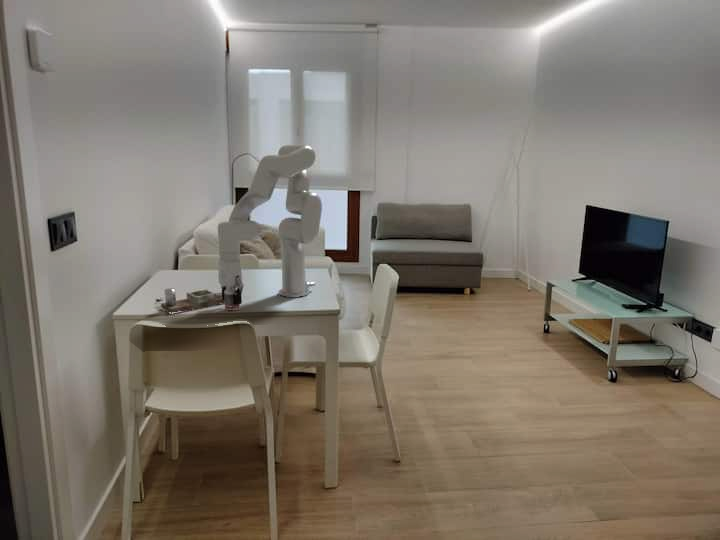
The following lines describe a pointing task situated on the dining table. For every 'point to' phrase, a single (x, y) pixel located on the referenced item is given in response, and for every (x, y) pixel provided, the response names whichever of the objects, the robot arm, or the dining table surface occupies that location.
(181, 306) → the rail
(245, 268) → the dining table surface
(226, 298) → the pill bottle
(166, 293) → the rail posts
